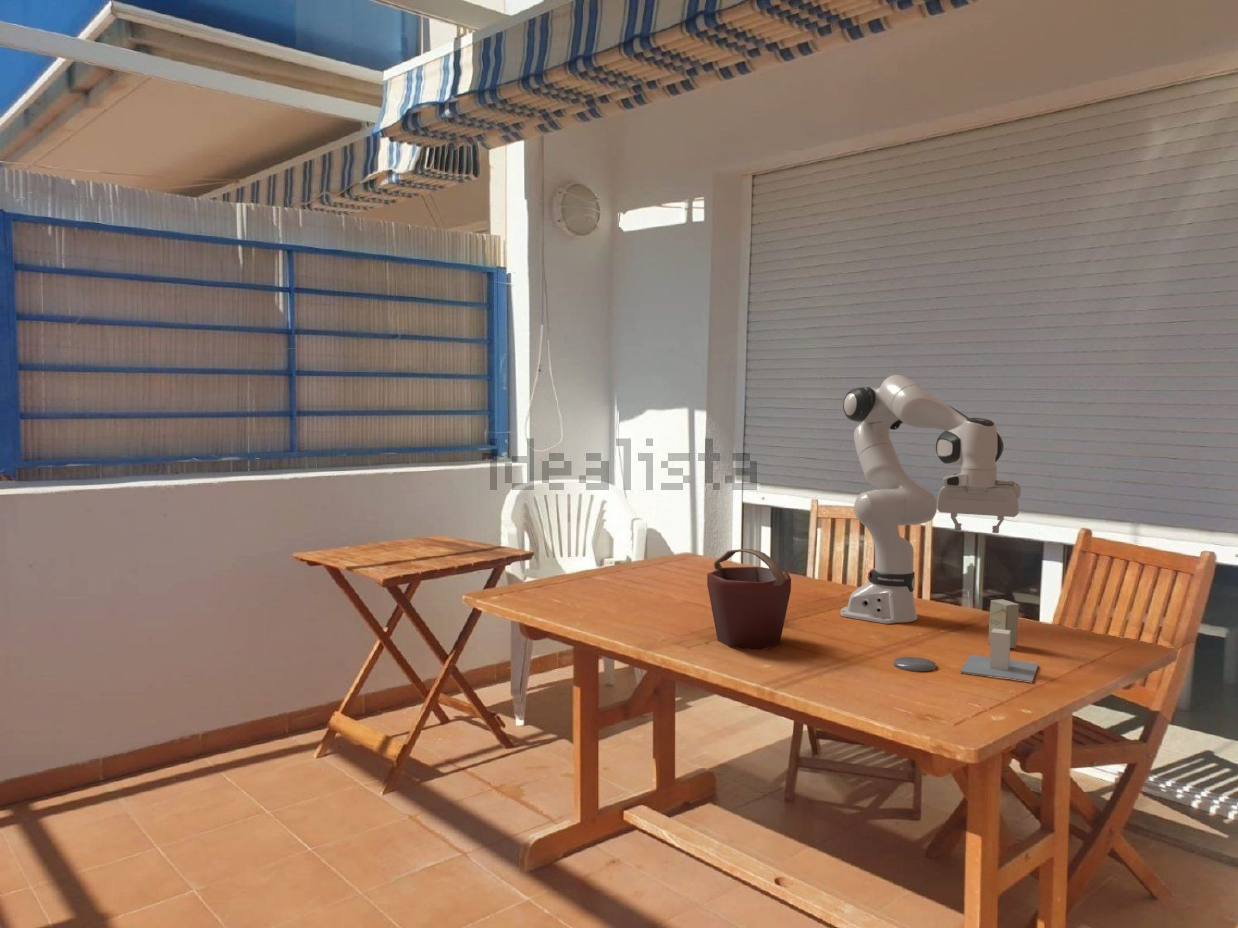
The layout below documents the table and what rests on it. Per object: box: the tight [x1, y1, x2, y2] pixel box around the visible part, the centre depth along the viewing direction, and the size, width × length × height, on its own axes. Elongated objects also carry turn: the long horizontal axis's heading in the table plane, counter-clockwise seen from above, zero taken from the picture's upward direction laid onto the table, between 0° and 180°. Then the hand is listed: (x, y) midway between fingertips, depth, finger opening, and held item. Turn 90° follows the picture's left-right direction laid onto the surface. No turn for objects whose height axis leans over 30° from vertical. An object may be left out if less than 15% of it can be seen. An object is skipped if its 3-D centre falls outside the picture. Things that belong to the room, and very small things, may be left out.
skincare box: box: [987, 598, 1020, 649], centre depth 250 cm, size 6×4×12 cm
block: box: [989, 628, 1011, 670], centre depth 229 cm, size 4×4×9 cm
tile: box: [959, 654, 1039, 682], centre depth 230 cm, size 16×16×1 cm
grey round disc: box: [893, 656, 937, 672], centre depth 233 cm, size 10×10×1 cm
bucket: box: [706, 548, 792, 651], centre depth 255 cm, size 24×22×25 cm
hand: (976, 531), depth 248 cm, fingers open, 8 cm apart
